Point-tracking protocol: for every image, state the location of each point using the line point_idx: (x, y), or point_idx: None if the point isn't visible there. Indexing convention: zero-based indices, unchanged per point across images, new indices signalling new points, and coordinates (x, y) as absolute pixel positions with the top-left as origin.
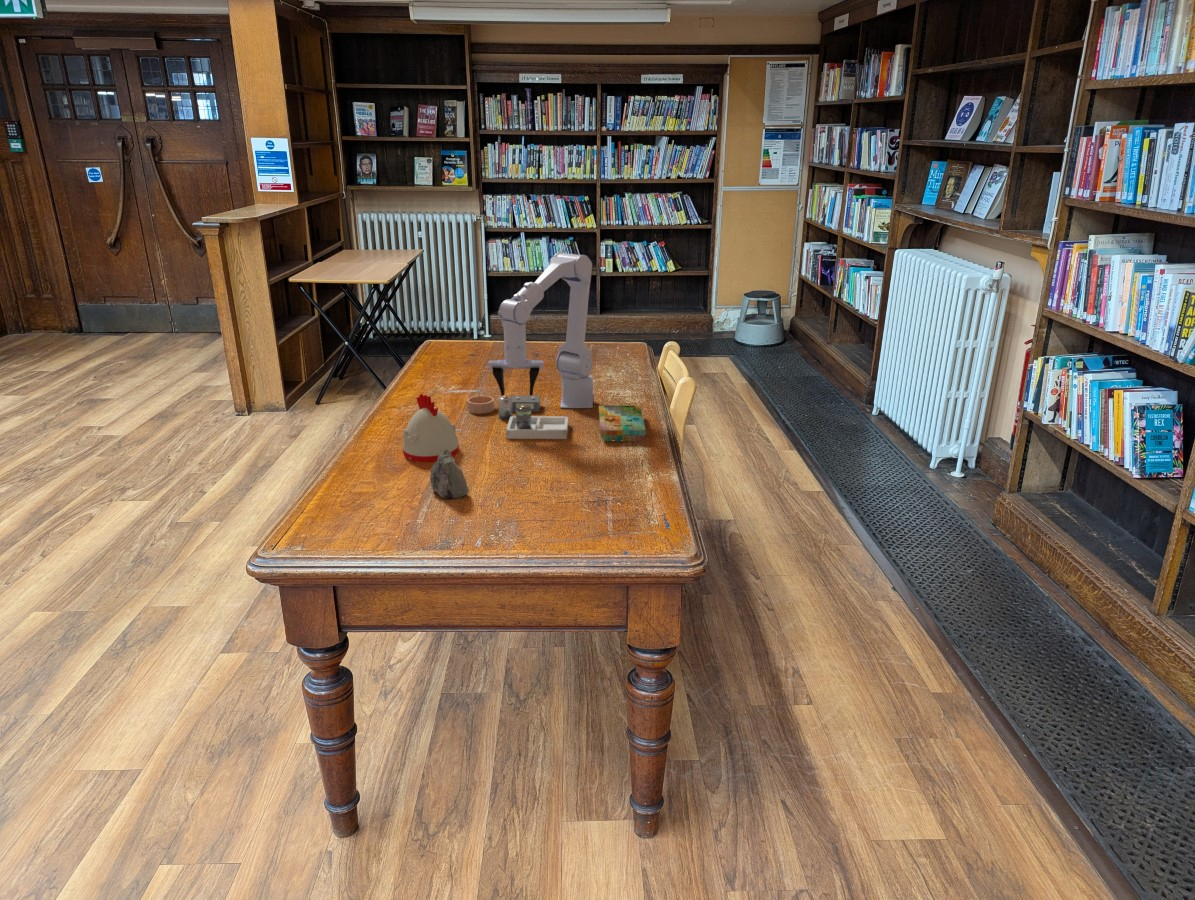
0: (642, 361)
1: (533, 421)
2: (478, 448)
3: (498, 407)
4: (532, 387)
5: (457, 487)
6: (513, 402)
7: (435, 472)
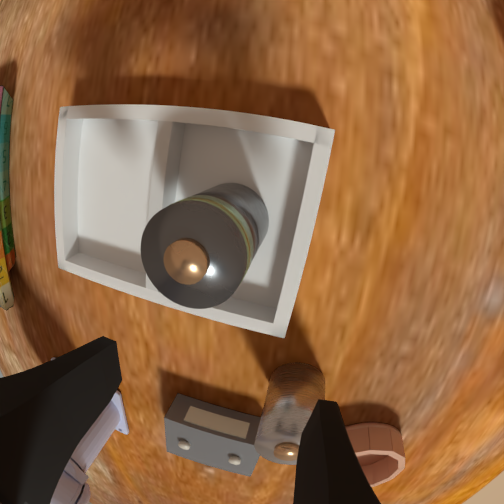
0: None
1: None
2: (454, 54)
3: None
4: (53, 361)
5: None
6: (253, 443)
7: None
